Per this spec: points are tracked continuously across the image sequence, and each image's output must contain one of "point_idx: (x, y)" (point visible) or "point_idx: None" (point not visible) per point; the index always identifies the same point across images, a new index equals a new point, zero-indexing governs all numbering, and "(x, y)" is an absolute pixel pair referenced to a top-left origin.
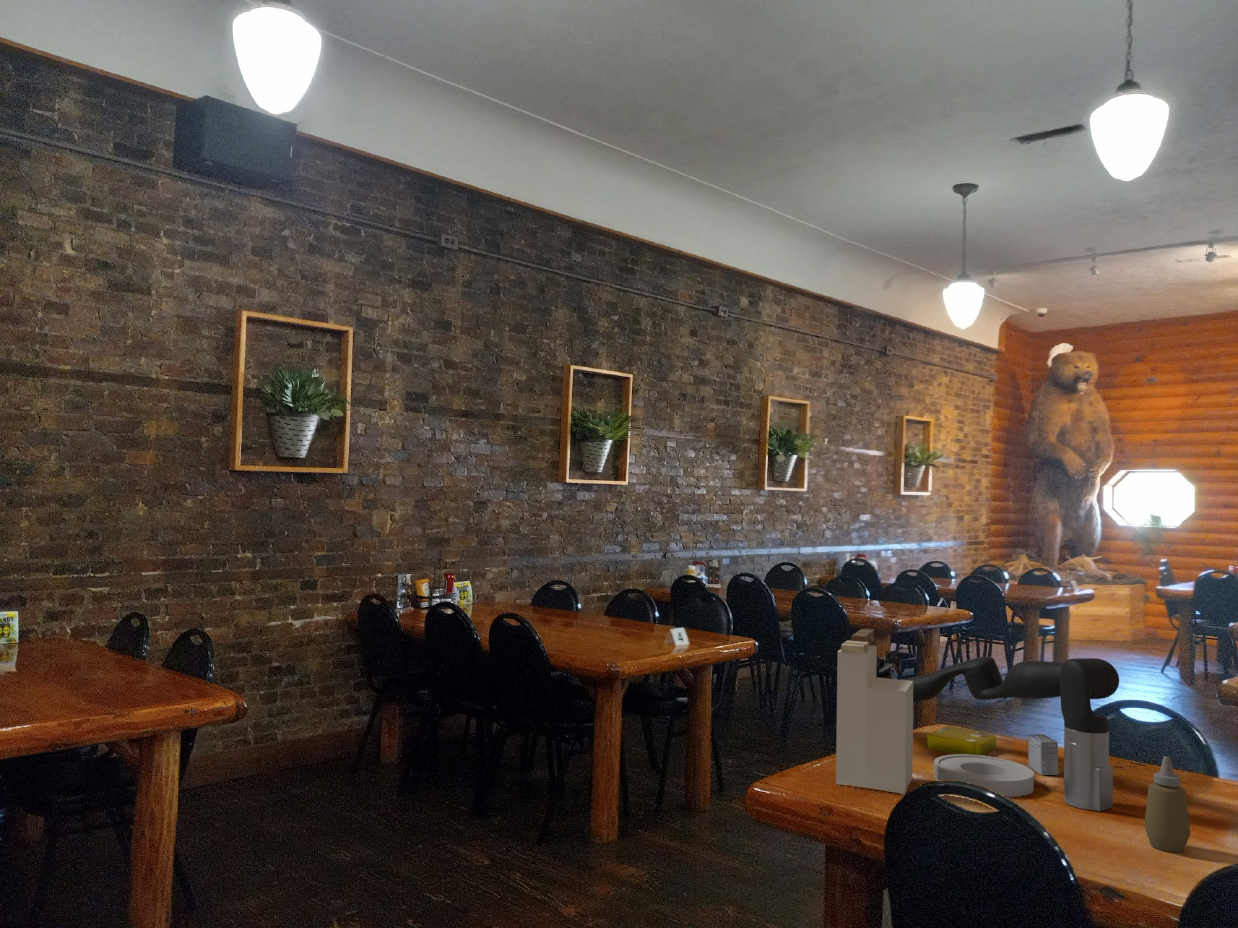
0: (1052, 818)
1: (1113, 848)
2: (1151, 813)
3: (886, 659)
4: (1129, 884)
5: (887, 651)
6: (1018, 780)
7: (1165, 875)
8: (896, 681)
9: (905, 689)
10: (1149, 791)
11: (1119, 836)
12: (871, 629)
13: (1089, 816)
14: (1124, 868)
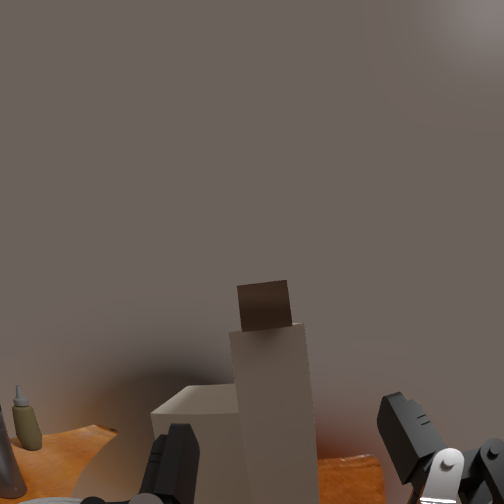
0: (70, 478)
1: (69, 450)
2: (37, 425)
3: (194, 468)
4: (98, 431)
5: (180, 425)
6: (53, 497)
7: (70, 434)
8: (191, 406)
9: (185, 389)
10: (31, 412)
11: (46, 457)
12: (247, 285)
13: (33, 476)
14: (86, 438)
